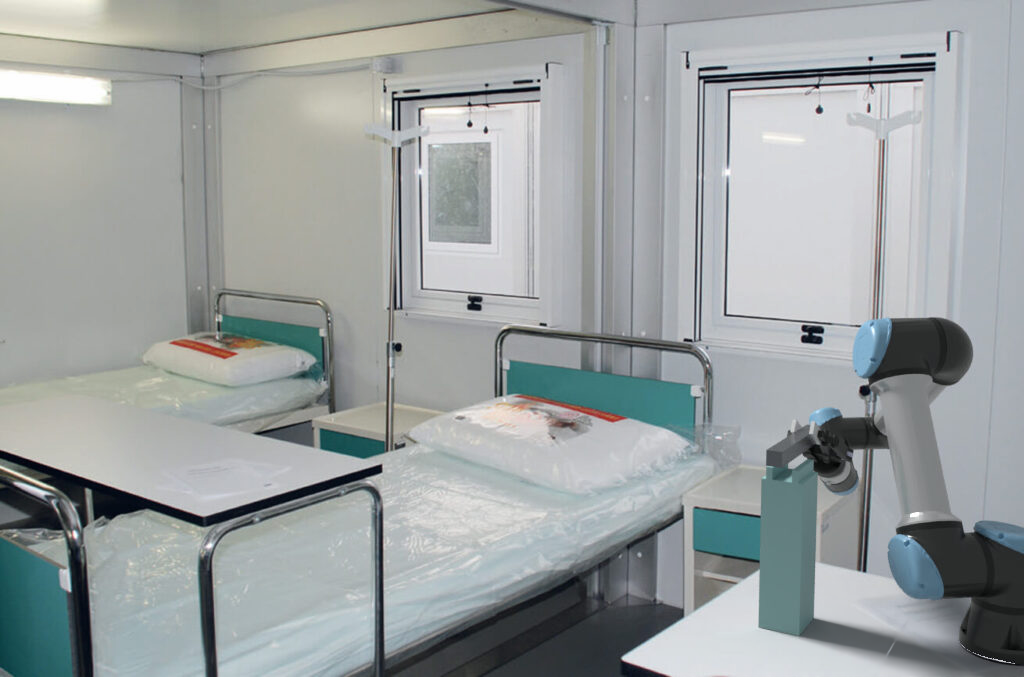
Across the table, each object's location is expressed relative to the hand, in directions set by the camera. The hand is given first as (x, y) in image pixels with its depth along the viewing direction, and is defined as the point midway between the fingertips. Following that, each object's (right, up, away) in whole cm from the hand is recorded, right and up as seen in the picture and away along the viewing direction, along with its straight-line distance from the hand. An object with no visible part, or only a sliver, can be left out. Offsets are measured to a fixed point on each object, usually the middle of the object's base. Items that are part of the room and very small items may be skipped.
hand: (802, 426), depth 199 cm
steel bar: (-3, -5, -3) cm, 6 cm away
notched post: (-4, -39, -2) cm, 39 cm away
